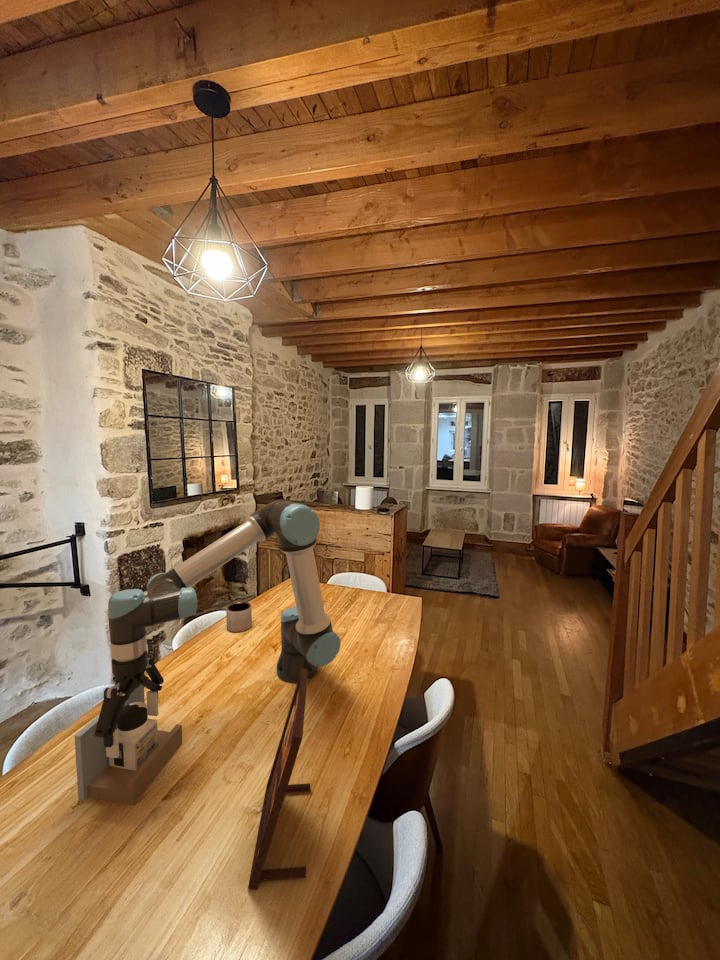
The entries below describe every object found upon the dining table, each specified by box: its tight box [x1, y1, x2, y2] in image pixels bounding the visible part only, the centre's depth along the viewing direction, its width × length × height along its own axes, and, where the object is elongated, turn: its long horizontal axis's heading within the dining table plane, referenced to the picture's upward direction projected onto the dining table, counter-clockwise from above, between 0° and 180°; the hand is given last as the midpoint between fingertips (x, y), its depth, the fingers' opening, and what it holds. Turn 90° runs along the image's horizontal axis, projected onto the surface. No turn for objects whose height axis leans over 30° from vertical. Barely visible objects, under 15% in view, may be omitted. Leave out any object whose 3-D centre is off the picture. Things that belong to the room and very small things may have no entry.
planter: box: [225, 601, 253, 633], centre depth 169 cm, size 11×11×10 cm
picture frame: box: [247, 668, 312, 891], centre depth 79 cm, size 21×11×30 cm, turn 5°
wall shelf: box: [74, 684, 183, 806], centre depth 95 cm, size 13×20×16 cm, turn 171°
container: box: [109, 702, 158, 771], centre depth 95 cm, size 8×8×13 cm
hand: (134, 734), depth 95 cm, fingers open, 13 cm apart
